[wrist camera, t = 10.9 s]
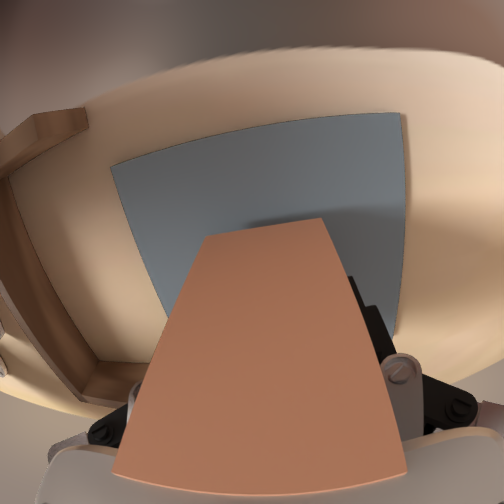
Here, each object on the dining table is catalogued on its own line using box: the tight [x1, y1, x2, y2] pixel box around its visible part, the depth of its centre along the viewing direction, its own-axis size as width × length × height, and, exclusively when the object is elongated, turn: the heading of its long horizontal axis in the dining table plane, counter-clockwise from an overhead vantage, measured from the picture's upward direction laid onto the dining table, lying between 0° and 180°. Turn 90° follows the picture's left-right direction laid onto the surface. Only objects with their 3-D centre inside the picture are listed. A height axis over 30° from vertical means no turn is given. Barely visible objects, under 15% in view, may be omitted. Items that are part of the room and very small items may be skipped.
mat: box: [110, 113, 405, 340], centre depth 15 cm, size 14×14×1 cm
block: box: [111, 218, 408, 496], centre depth 9 cm, size 6×5×10 cm
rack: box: [0, 108, 150, 409], centre depth 14 cm, size 10×19×4 cm, turn 11°
